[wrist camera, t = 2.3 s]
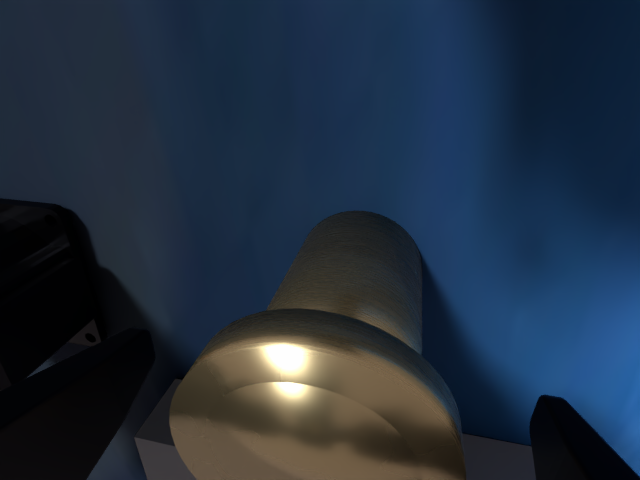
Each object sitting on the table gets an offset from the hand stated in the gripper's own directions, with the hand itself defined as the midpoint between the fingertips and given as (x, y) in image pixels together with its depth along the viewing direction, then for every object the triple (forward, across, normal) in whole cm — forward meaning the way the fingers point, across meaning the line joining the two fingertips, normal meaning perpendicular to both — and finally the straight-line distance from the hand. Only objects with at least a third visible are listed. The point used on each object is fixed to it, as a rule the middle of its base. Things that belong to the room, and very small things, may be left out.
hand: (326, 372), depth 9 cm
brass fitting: (+5, 0, 0) cm, 5 cm away
